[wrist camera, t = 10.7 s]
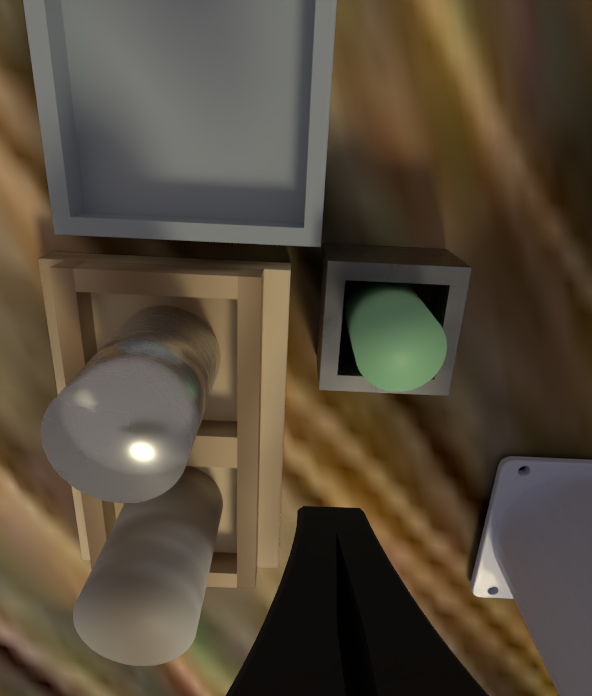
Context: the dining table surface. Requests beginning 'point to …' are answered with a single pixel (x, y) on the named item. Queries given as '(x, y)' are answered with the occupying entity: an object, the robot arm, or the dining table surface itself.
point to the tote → (185, 117)
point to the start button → (393, 335)
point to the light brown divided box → (206, 455)
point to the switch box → (388, 266)
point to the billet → (134, 407)
